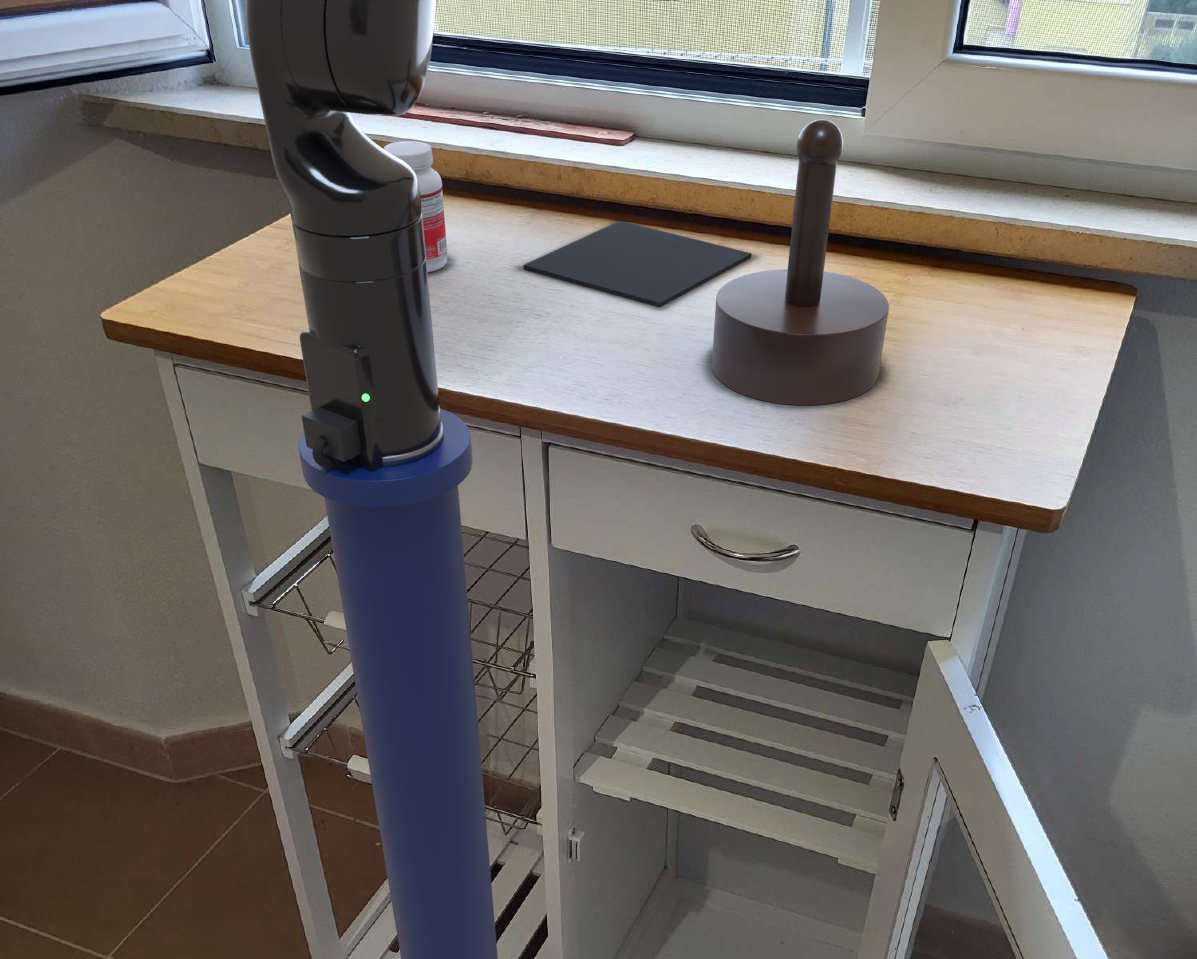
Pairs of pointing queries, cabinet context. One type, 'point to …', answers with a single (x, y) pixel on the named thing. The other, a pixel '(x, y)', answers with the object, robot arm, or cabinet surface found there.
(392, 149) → the pill bottle
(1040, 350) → the cabinet surface
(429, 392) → the robot arm
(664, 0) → the hoop
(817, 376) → the peg stand
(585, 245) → the mat
